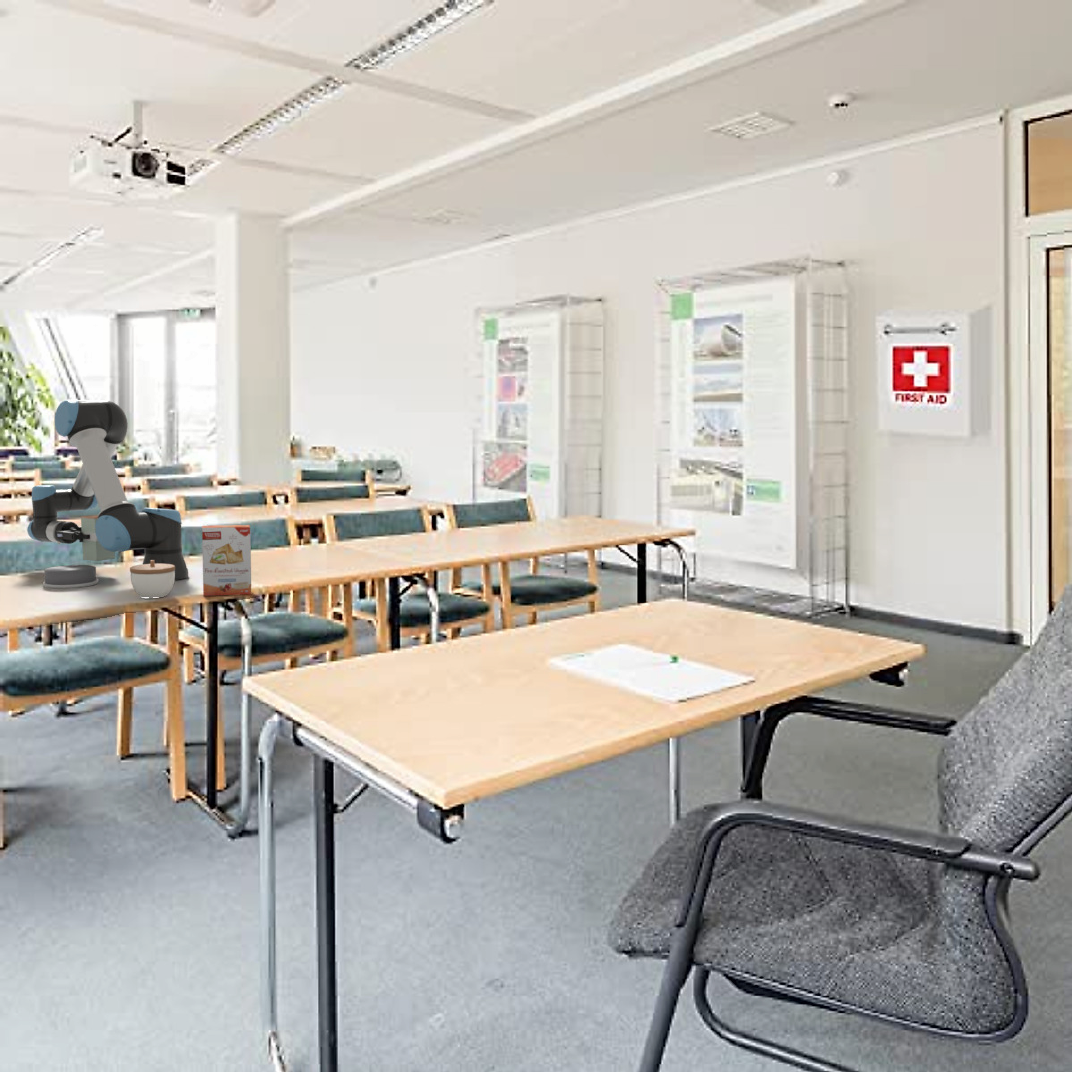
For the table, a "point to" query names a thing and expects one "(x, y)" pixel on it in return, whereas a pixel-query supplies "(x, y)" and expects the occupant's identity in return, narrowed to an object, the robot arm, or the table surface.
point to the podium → (70, 576)
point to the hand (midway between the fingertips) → (107, 536)
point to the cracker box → (226, 560)
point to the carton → (93, 542)
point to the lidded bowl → (152, 579)
